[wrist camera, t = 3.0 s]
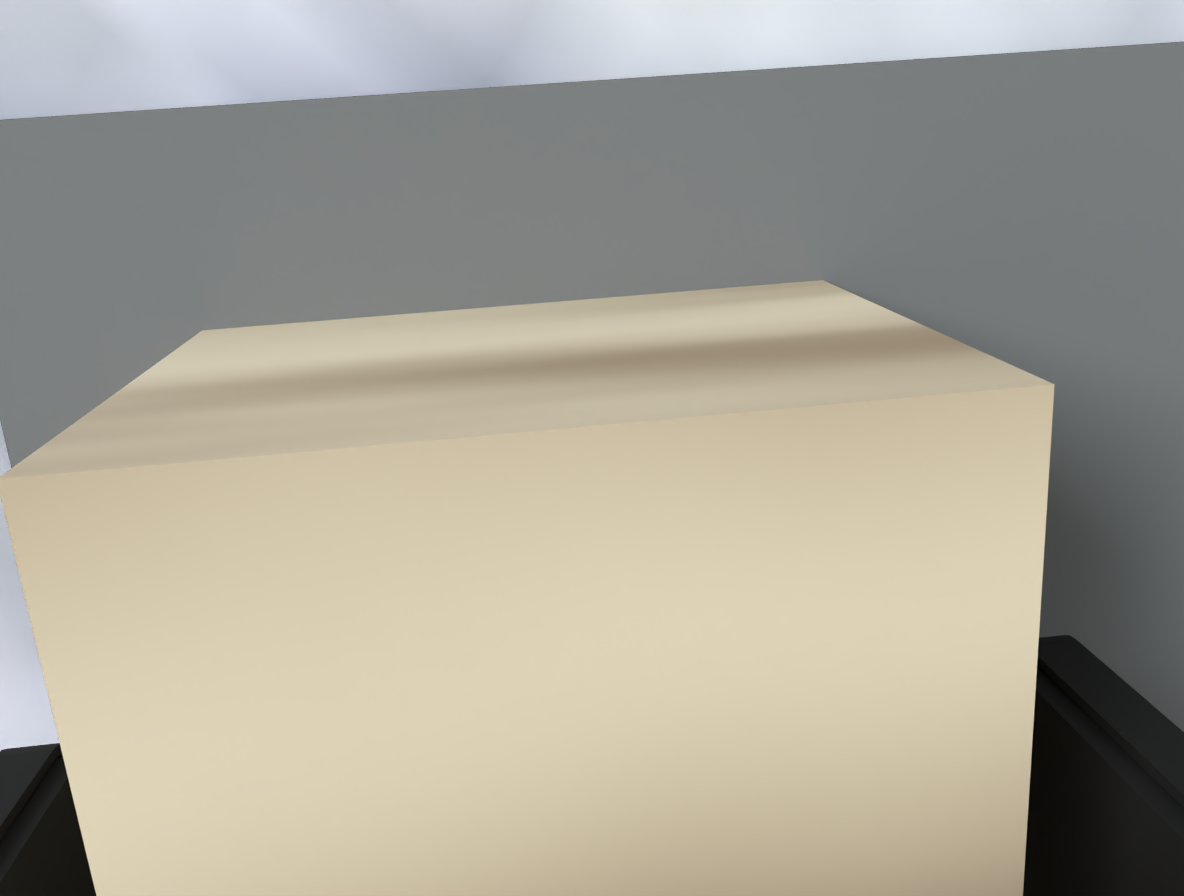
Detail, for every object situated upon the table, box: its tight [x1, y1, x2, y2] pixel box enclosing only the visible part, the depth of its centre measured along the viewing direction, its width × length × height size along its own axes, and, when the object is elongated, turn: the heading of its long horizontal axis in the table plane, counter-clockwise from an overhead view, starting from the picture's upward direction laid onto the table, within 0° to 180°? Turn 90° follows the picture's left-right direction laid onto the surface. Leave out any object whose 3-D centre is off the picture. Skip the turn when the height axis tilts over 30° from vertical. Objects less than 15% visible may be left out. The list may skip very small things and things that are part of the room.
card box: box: [0, 280, 1055, 896], centre depth 10 cm, size 10×6×4 cm, turn 4°
